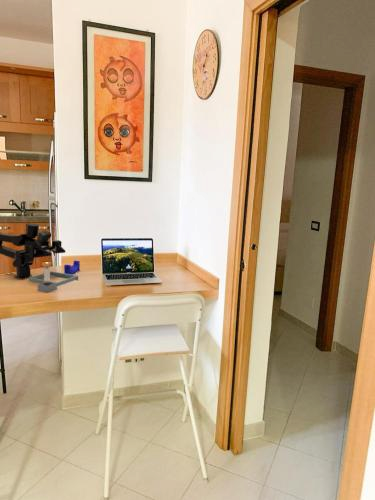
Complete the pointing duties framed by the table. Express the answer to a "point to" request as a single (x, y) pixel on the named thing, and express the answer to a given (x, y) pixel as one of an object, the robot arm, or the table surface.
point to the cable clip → (72, 268)
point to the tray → (56, 274)
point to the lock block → (47, 287)
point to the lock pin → (46, 272)
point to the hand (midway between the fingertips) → (58, 253)
